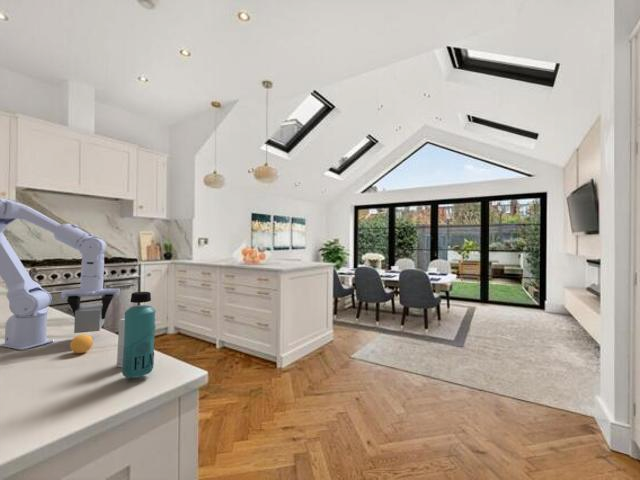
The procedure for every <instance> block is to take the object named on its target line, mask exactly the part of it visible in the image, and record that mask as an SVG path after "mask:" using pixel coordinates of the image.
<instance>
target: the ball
mask: <svg viewBox="0 0 640 480" xmlns="http://www.w3.org/2000/svg"><path fill="white" fill-rule="evenodd" d="M93 344H94V340H93V337H92V336H91V335H88V334H85V333H84V334H78V335H77V336H75V337H74V338H73V339H72V340H71V341H70V343H69V348H70V350H71V351H72V352H73V353H75V354H84V353H87V352H89V350H90V349H91V348H92V347H93Z"/></svg>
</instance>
